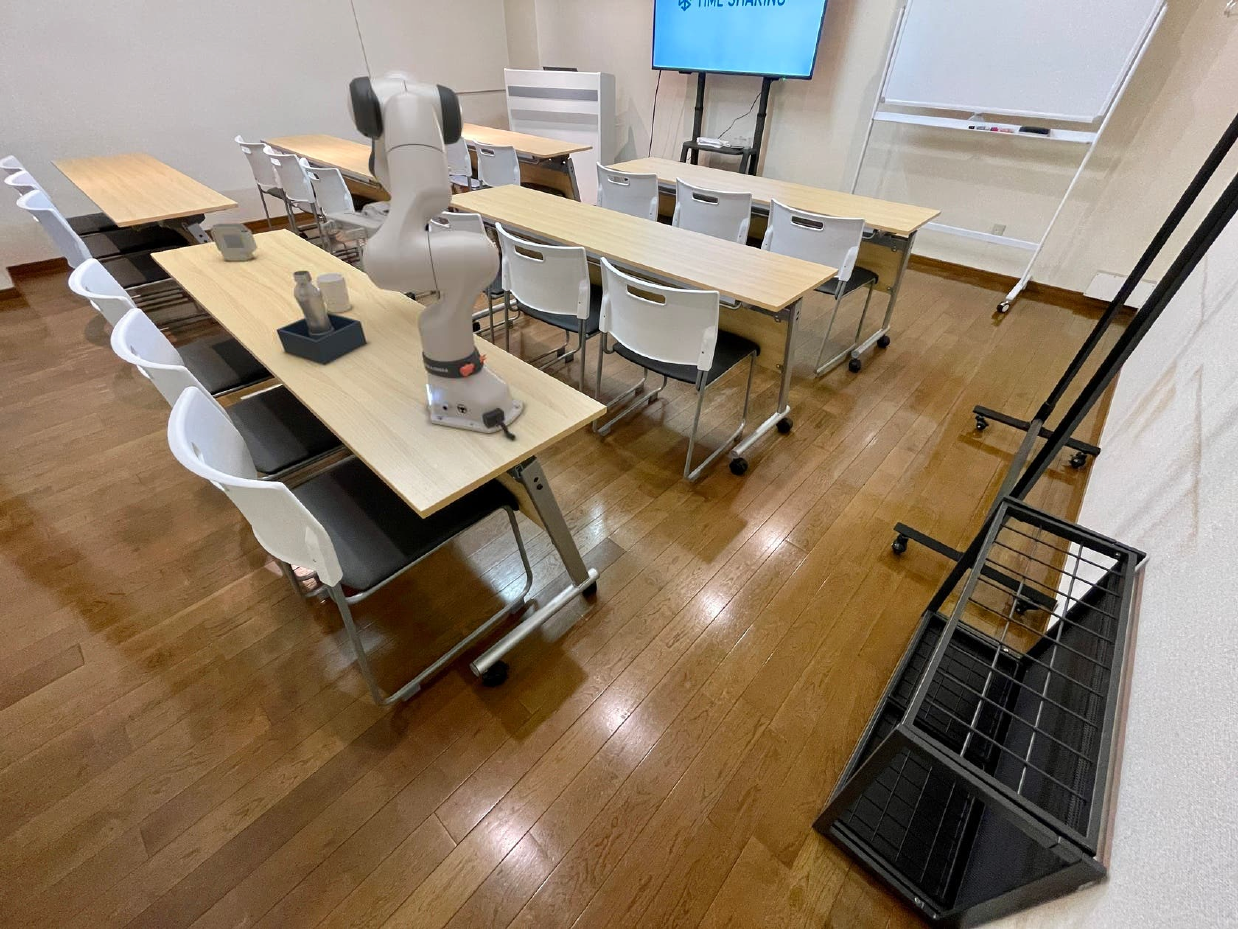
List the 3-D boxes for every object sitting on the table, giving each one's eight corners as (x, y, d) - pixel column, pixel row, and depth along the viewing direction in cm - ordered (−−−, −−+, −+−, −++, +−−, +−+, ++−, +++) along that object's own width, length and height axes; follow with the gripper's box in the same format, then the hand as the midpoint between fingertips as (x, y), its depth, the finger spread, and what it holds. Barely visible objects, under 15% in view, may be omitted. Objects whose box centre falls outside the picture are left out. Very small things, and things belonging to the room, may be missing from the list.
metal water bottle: (336, 350, 141) (312, 276, 129) (310, 351, 140) (282, 277, 128) (342, 339, 146) (318, 268, 134) (316, 340, 145) (290, 268, 133)
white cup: (346, 301, 168) (337, 270, 162) (357, 309, 164) (348, 277, 158) (321, 307, 164) (311, 276, 158) (331, 315, 160) (321, 283, 153)
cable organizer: (256, 261, 194) (243, 227, 186) (219, 262, 192) (204, 227, 184) (262, 255, 199) (249, 222, 192) (226, 256, 197) (211, 222, 189)
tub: (367, 343, 147) (360, 321, 142) (324, 364, 136) (316, 341, 132) (329, 332, 151) (321, 310, 147) (285, 352, 141) (275, 329, 136)
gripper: (350, 202, 145) (305, 212, 136) (401, 214, 138) (356, 225, 128) (356, 226, 149) (313, 237, 140) (406, 239, 142) (363, 251, 132)
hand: (334, 231), depth 134 cm, fingers open, 8 cm apart
